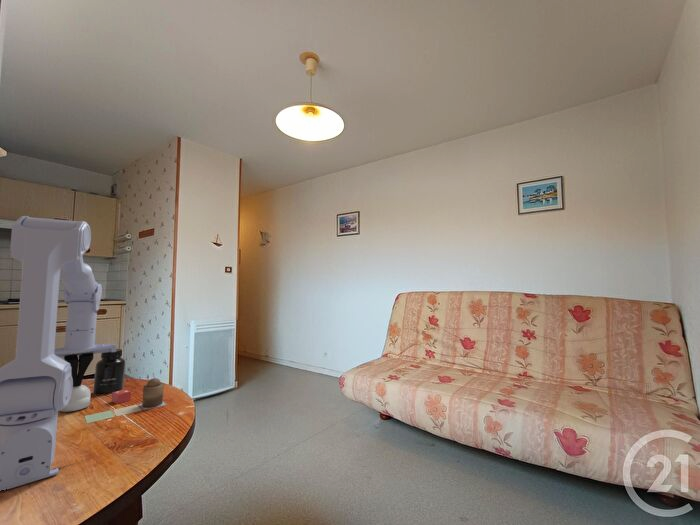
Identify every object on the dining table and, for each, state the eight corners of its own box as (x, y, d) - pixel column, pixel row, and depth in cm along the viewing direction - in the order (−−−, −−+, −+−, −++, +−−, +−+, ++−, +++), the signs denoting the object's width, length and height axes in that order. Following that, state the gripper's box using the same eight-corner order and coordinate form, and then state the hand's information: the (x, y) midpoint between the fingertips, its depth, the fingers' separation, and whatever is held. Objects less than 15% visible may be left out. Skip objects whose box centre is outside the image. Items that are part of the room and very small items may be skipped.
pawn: (164, 404, 79) (166, 378, 80) (144, 409, 76) (146, 382, 77) (159, 399, 83) (161, 374, 83) (140, 404, 79) (142, 378, 80)
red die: (130, 403, 82) (130, 391, 82) (117, 406, 79) (117, 394, 79) (124, 400, 83) (125, 388, 83) (111, 404, 81) (112, 392, 81)
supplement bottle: (103, 398, 85) (107, 353, 85) (87, 395, 87) (90, 351, 88) (129, 390, 91) (131, 348, 92) (112, 387, 93) (115, 346, 94)
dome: (91, 408, 76) (92, 385, 76) (59, 415, 72) (61, 390, 72) (88, 402, 80) (90, 380, 80) (58, 408, 76) (60, 384, 76)
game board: (170, 410, 77) (170, 407, 77) (86, 431, 66) (87, 428, 66) (158, 398, 85) (158, 396, 85) (81, 415, 74) (81, 412, 74)
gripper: (114, 325, 85) (110, 375, 84) (39, 330, 75) (34, 387, 74) (119, 328, 80) (115, 382, 79) (40, 334, 70) (34, 395, 69)
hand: (76, 385), depth 76 cm, fingers closed, pressing on dome
